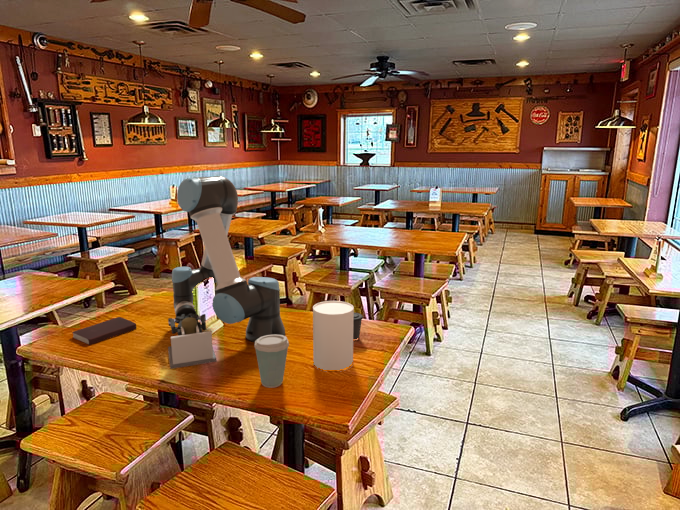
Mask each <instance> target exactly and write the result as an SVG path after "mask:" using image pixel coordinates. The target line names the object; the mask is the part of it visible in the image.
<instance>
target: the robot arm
mask: <svg viewBox="0 0 680 510" xmlns="http://www.w3.org/2000/svg"><path fill="white" fill-rule="evenodd" d="M176 194H177V196H176V197H177V198H176V199H177V203H178V205H179V207H180V209H181V210H182V211H183V212H187V213H188V214H189V217H190V219H192V220H193V221H195V222H196V224H197V227H198V230H199V233H200V237H201V240H202V242H203V245H204V250H203V255H202V259H201V263H200V266H199V268H194V269H192V268H191V267H189V266H177V267H175V268H173V269H172V272H171V283H172V291H173V295H172V297H173V308H174V313H175V318H172V317H169V318H168V319H167V320H168V321H167V322H168V326H169V327H170V329H171V333H172V334H173V335H175V334H177V336H179V335H185V333H184V328H183V327H182V324H181V323H182V320H183V319H185V318H189V317H192V318H195V319H196V320H197V326H196V333H201V332H203V331H205V330H207V324H206V321H207V319H206V318H207V317H206V314H205V313H203V314H201V315H199V314H197V311H195V310H196V308H195V309H194V307H195V304H194V305H193V300H194V289H195V288H194V287H195V286H196V285H197V284H198V283H200V282H201V281H202V280H203V279H205V278H209V277H213V278H214V283H213V284H215V283H216V286H215V288H214V292H215V295H214V296H213V297H212V303H211V305H212V310H213V312H214V314H215V315H216V317H217V318H218V319H219V321H222V322H223V323H225V324H229V325H231V324H235V323H239V322H240V323H241V322H242V321H244V320H247V319H248V322H247V326H246V329H245V338H246V340H248V341H249V342H253V343H255V341H256V340H257V339H258V338H260V337H262V336H266V335H274V334H276V335H283V336H286V329H285V325H284V323H283V320H282V318H281V304H280V303H281V302H280V301H281V300H280V299H281V298H280V297H281V295H280V294H281V293H280V290H281V288H280V283H279V281H278V280H277V279H275V278H272V277H267V276H264V277H263V276H253V277H250V278H249V279H248V280H247V279H246V278H244V277H242V276H241V274H240V271H239V269H238V264H237V261H236V258H235V256H234V253H233V250H232V247H231V243H230V240H229V238H228V235H229V230H230V227H231V222H232V219H233V215H235V214H236V213H237V209H238V205H239V195H238V190H237V188H236V186H235V184H233V182H232V181H231V180H230V179H229V178H227V177H225V176H220V175H214V176H193V177H189V178H185V179H183V180H182V181H181V182H180V184H179V185H178V189H177V193H176ZM192 291H193V293H192ZM176 324H177V327H176Z"/></svg>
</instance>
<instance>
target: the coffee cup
mask: <svg viewBox="0 0 680 510" xmlns="http://www.w3.org/2000/svg"><path fill="white" fill-rule="evenodd" d="M362 319H364V316H363V314H361V313H359V312H354V318H353V339H357V338H359V339H360V337H361V336H360V333H361V327H362Z"/></svg>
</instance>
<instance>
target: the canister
mask: <svg viewBox="0 0 680 510" xmlns="http://www.w3.org/2000/svg"><path fill="white" fill-rule="evenodd" d="M354 309H355V308H354V305H353V304H351V303H349V302H347V301H341V300H326V301H321V302H317V303H315V304H314V305H313V306H312V333H313V334H312V335H313V336H312V342H313V343H312V344H313V345H312V346H313V349H312V350H313V353H312V355H313V357H312V358H313V360H312V361H313V362H314V363H313V366H314V365H315V366H316V367H317V368H316V367H315V366H314V367H315V368H316V369H318V368H320V369H323V370H340V369H344V368H346V367H349V366H350V365H351V364H352V362H353V363H354V341H353V318H354V313H355V312H354V311H355V310H354Z"/></svg>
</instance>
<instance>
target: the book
mask: <svg viewBox="0 0 680 510" xmlns="http://www.w3.org/2000/svg"><path fill="white" fill-rule="evenodd" d="M134 329H135V330H137V324H136V322H133V321H131V320H129V319H126V318H124V317H121V316H118V317H114V318H111V319H107V320H105V321H102V322H99V323H95V324H93V325H90V326H87V327H84V328H80V329H76V330H74V331H72V332H71V333H72V335H73V336H72V338H73V339H75V340H78V341H80V342H83V343H85V344H87V345H88V346H90V345H94V344H96V343H99V342H103V341H106V340H108V339H111V338H114V337H116V335H117V336H119V334H120V335H123V334H126V333H129V332H132V331H135V330H134ZM131 330H132V331H131ZM128 331H129V332H128ZM125 332H126V333H125ZM122 333H123V334H122ZM113 336H114V337H113ZM110 337H111V338H110ZM107 338H108V339H107Z"/></svg>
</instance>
